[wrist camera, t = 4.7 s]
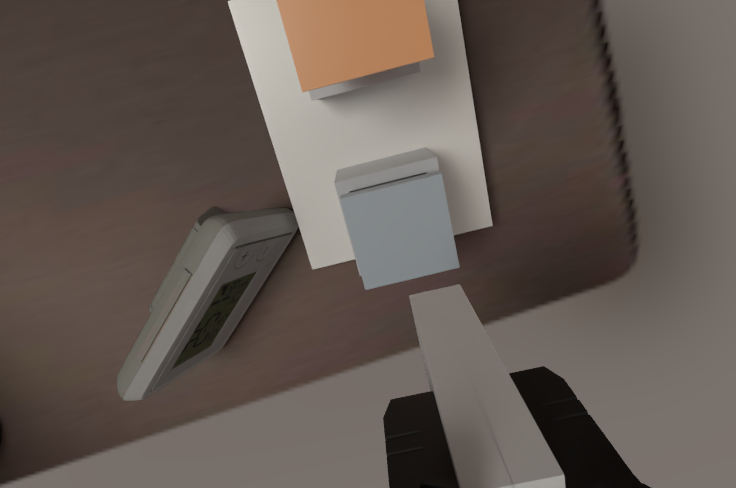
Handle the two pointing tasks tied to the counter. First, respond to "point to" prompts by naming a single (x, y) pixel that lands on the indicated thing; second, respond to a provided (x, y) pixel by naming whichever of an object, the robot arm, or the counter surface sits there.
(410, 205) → the grey plunger
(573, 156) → the counter surface
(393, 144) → the button console
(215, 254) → the digital clock
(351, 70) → the orange plunger
